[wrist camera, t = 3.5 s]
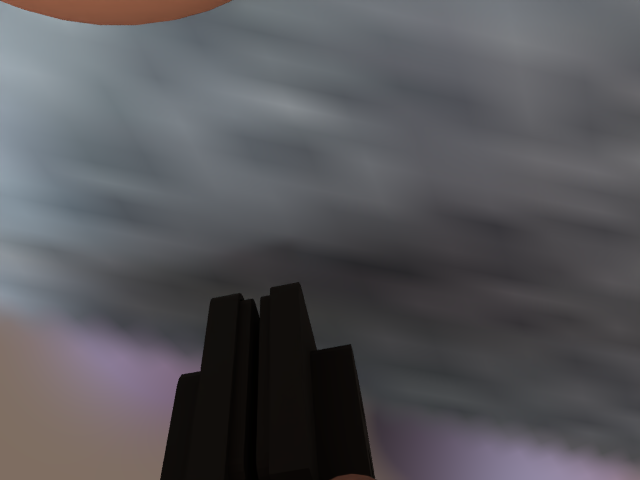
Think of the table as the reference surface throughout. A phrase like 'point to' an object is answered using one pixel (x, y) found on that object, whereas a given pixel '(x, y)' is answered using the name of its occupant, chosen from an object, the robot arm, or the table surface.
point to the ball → (117, 10)
